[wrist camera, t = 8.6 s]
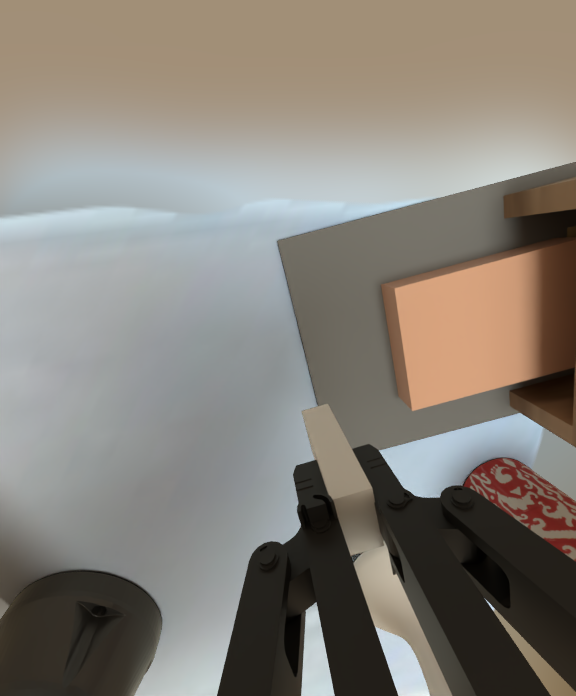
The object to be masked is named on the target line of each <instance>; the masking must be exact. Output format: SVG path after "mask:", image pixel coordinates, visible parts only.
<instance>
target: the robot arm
mask: <svg viewBox="0 0 576 696" xmlns="http://www.w3.org/2000/svg"><path fill="white" fill-rule="evenodd" d="M302 415H303V419H304V422H305V426H306V430H307V434H308V437H309V441H310V445H311V449H312V452H313V455H314V459H315V460H314V461H311V462H307V463H304V464H300V465H297V466H296V467H295V470H294V474H293V476H294V481H295V487H296V491H297V497H298V502H299V504H298V506H297V513H298V516H299V519H300V523H301V528H300V529H299V531H298V533H297V534H296V535H295V537H293V538H292V539H291V540H289V541H288V542H286V543H285V544H283V545H282V544H280V543H279V542H272V541H271V542H267V543H264V544H262V545H261V546H259V547H258V548H257V549H256V550H255V551H254V552H253V554H252V556H251V558H250V560H249V564H248V569H247V573H246V577H245V581H244V585H243V589H242V594H241V598H240V602H239V606H238V610H237V615H236V619H235V623H234V627H233V631H232V635H231V640H230V644H229V648H228V652H227V656H226V661H225V665H224V669H223V673H222V677H221V682H220V686H219V690H218V694H217V696H301V687H302V669H303V651H304V633H305V615H306V612H305V610H306V609H308V608H309V607H310V606H312V605H313V604H314V603H316V602H317V606H318V612H319V617H320V622H321V627H322V632H323V637H324V642H325V648H326V653H327V658H328V663H329V668H330V673H331V679H332V684H333V689H334V694H335V696H398V694H397V691H396V688H395V685H394V682H393V679H392V676H391V673H390V670H389V667H388V664H387V661H386V658H385V655H384V652H383V649H382V646H381V643H380V641H379V638H378V635H377V632H376V629H375V626H374V623H373V620H372V617H371V614H370V611H369V608H368V605H367V602H366V599H365V596H364V593H363V590H362V587H361V584H360V581H359V579H358V576H357V573H356V570H355V567H354V564H353V561H352V558H351V556H352V555H355V554H359V553H362V552H365V551H369V550H372V549H375V548H378V547H382V546H384V542H383V539H384V541H385V544H386V546H387V548H388V552H389V557H390V562H391V567H392V572H393V575H395V574H397V576H398V578H399V580H400V582H401V584H402V587H403V589H404V591H405V593H406V595H407V598H408V600H409V602H410V604H411V606H412V608H413V611H414V613H415V615H416V617H417V619H418V622H419V624H420V626H421V628H422V630H423V632H424V635H425V637H426V639H427V641H428V643H429V646H430V648H431V650H432V652H433V654H434V656H435V659H436V661H437V663H438V665H439V667H440V670H441V672H442V674H443V676H444V678H445V681H446V683H447V685H448V687H449V689H450V691H451V694H452V696H551V695H550V694H549V692H548V691H547V689H546V688H545V687H544V685H543V684H542V682H541V681H540V679H539V678H538V676H537V675H536V673H535V672H534V670H533V669H532V668H531V666H530V665H529V663H528V662H527V660H526V659H525V657H524V656H523V654H522V653H521V651H520V650H519V648H518V647H517V645H516V644H515V643H514V641H513V640H512V638H511V637H510V635H509V634H508V632H507V631H506V630H505V628H504V626H503V625H502V624H501V622H500V621H499V619H498V618H497V616H496V615H495V613H494V612H493V610H492V609H491V607H490V606H489V604H488V603H487V602H486V600H487V601H488V602H489V603H490V604H491V605H492V606H493V607H494V608H495V609H496V610H497V611H498V612H499V613H500V614H501V615H502V616H503V617H504V618H505V620H506V621H508V623H509V624H510V625H511V626H512V627H513V628H514V629H515V630H516V631H517V632H518V633H519V634H520V635H521V636H522V637H523V638H524V639H525V640H526V641H527V642H528V643H529V644H530V645H531V646H532V647H533V648H534V649H535V650H536V651H537V652H538V653H539V655H541V657H542V658H543V659H544V660H545V661H546V662H547V663H548V664H549V665H550V666H551V667H552V668H553V669H554V670H555V671H556V672H557V673H558V674H559V675H560V676H561V677H562V678H563V679H564V680H565V681H566V682H567V683H568V684H569V685H570V686H571V687H572V688H573V689H574V690H575V691H576V561H574V560H573V559H572V558H570V557H569V556H567V555H566V554H564V553H563V552H562V551H560V550H559V549H557V548H556V547H554V546H553V545H552V544H550V543H549V542H547V541H546V540H545V539H543V538H542V537H540V536H539V535H537V534H536V533H535V532H533V531H532V530H530V529H529V528H528V527H526V526H525V525H523V524H522V523H520V522H519V521H518V520H516V519H515V518H513V517H512V516H511V515H509V514H508V513H506V512H505V511H503V510H502V509H501V508H499V507H498V506H496V505H495V504H493V503H492V502H491V501H489V500H488V499H486V498H485V497H484V496H482V495H481V494H479V493H478V492H476V491H475V490H473V489H471V488H469V487H464V486H451V487H448V488H446V489H445V490H443V491H442V493H441V496H440V498H422V497H418V496H414V495H413V494H412V493H411V492H410V491H408V490H406V489H404V488H403V487H402V485H401V484H400V482H399V481H398V479H397V478H396V476H395V475H394V473H393V472H392V470H391V469H390V467H389V466H388V464H387V463H386V461H385V459H384V458H383V456H382V455H381V453H380V452H379V450H378V449H377V448H375V447H373V446H372V445H370V444H367V445H363V446H360V447H356V448H353V449H351V447H350V445H349V443H348V441H347V439H346V437H345V435H344V433H343V432H342V430H341V428H340V426H339V424H338V422H337V420H336V418H335V416H334V414H333V413H332V411H331V409H330V407H329V405H328V404H325V405H321V406H318V407H314V408H311V409H307V410H304V411H302ZM382 537H383V538H382ZM484 598H485V599H486V600H485V599H484ZM161 630H162V620H161V615H160V612H159V610H158V608H157V606H156V604H155V603H154V602H153V600H152V599H151V598H150V597H149V596H148V595H147V594H146V593H145V592H144V591H142V590H141V589H140V588H138V587H137V586H135V585H133V584H131V583H130V582H127V581H125V580H123V579H120V578H117V577H114V576H111V575H107V574H102V573H95V572H67V573H61V574H56V575H52V576H49V577H46V578H43V579H41V580H38V581H36V582H34V583H32V584H31V585H29V586H28V587H26V588H25V589H24V590H23V591H22V592H20V593H19V595H18V596H17V597H16V598H15V599H14V601H13V602H12V604H11V605H10V607H9V608H8V609H7V611H6V612H5V614H4V615H3V616H2V618H1V619H0V696H134V695H135V693H136V691H137V689H138V687H139V685H140V683H141V681H142V679H143V677H144V675H145V674H146V672H147V671H148V669H149V668H150V666H151V664H152V661H153V659H154V656H155V653H156V649H157V645H158V642H159V638H160V634H161Z"/></svg>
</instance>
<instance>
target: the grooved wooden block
mask: <svg viewBox="0 0 576 696" xmlns="http://www.w3.org/2000/svg"><path fill="white" fill-rule="evenodd" d="M503 199H504V218H512V217H519V216H527V215H534V214H542V213H549V212H556V211H564V210H571V209H576V177H573V178H569V179H565V180H561V181H558V182H554V183H550V184H546V185H543V186H539V187H535V188H531V189H527V190H524V191H520V192H516V193H512V194H509V195H505V196H503ZM567 237H576V226H572V227H568V228H567ZM509 399H510V407H512V408H514V409H515V410H517V411H518V412H520V413H522V414H523V415H525V416H526V417H528V418H530V419H531V420H533V421H534V422H536V423H538V424H539V425H541V426H542V427H544V428H546V429H547V430H549V431H550V432H552V433H554V434H555V435H557V436H558V437H560V438H562V439H563V440H565V441H567V442H568V443H570V444H571V445H573V446H575V447H576V357H575V373H574V374H570V375H567V376H563V377H559V378H555V379H552V380H548V381H544V382H540V383H537V384H533V385H529V386H525V387H522V388H518V389H514V390H510V391H509Z"/></svg>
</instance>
